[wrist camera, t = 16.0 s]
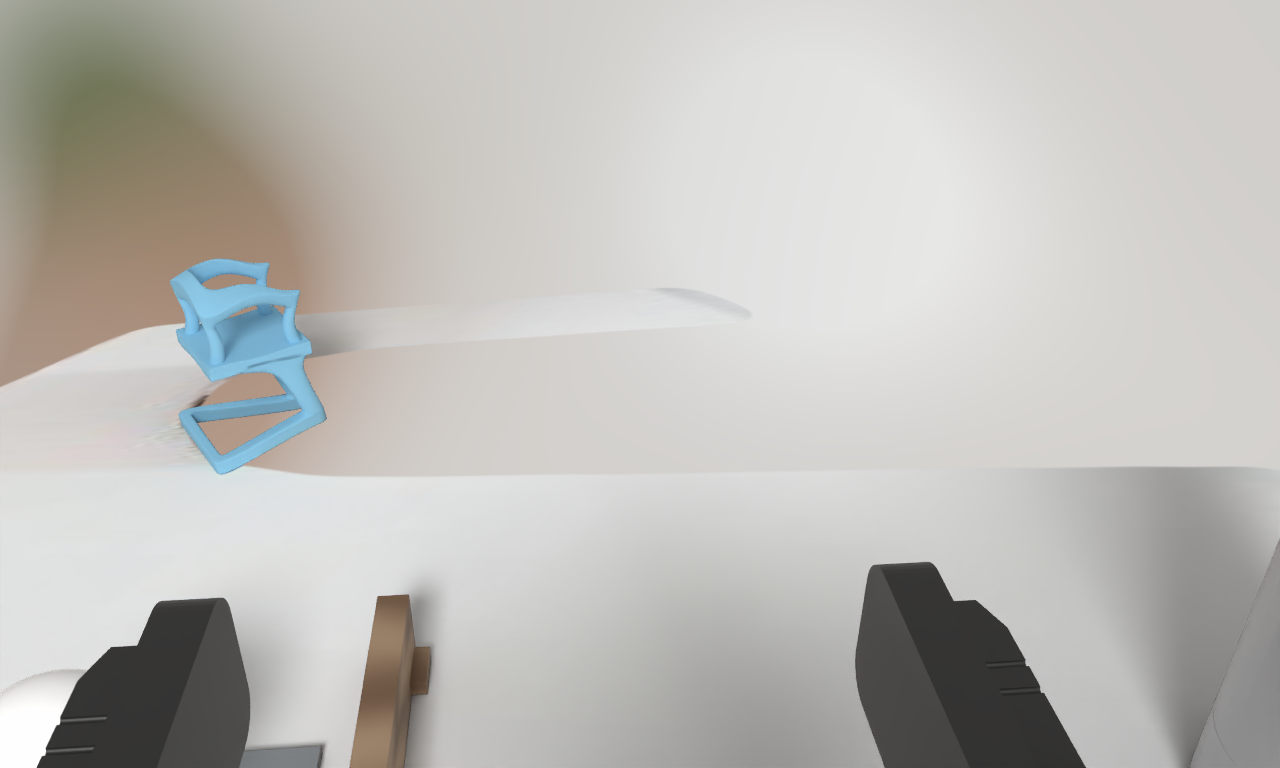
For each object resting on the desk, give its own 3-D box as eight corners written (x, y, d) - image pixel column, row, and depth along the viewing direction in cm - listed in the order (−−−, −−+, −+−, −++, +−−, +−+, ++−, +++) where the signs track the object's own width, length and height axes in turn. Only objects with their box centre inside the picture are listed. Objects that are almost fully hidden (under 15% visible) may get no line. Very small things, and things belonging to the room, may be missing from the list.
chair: (342, 435, 72) (319, 271, 66) (217, 476, 68) (181, 304, 62) (297, 388, 78) (273, 231, 72) (179, 423, 73) (142, 260, 67)
